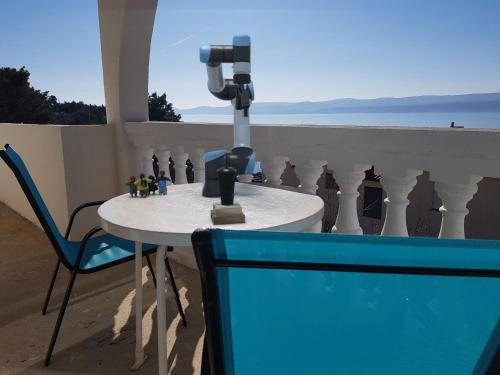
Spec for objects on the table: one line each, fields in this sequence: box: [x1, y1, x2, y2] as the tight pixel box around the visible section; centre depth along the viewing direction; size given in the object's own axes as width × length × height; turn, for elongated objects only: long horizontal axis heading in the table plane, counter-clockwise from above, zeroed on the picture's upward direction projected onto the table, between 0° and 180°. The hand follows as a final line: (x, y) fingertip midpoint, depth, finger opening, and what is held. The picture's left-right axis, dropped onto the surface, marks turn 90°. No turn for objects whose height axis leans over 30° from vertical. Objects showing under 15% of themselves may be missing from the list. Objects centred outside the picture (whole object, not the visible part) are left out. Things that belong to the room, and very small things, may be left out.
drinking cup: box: [217, 152, 237, 206], centre depth 143 cm, size 8×8×20 cm
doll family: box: [124, 169, 173, 199], centre depth 192 cm, size 23×9×13 cm, turn 133°
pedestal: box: [209, 201, 246, 226], centre depth 146 cm, size 12×12×6 cm
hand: (242, 125), depth 160 cm, fingers open, 13 cm apart
